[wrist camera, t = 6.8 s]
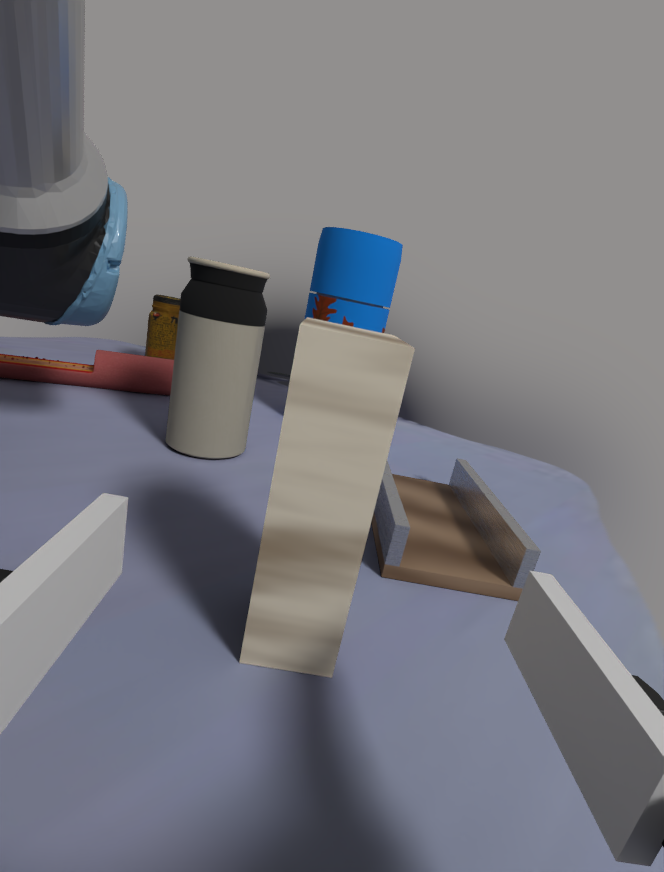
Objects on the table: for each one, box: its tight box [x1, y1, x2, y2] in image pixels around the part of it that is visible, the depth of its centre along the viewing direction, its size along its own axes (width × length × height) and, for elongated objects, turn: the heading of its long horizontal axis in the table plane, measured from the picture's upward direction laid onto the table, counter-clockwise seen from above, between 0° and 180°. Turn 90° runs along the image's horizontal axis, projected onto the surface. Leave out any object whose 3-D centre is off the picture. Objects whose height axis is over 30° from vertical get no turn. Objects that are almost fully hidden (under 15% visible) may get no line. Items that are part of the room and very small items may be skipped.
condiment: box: [145, 295, 181, 360], centre depth 75 cm, size 7×8×12 cm
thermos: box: [305, 227, 402, 333], centre depth 64 cm, size 11×11×25 cm
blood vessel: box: [0, 350, 174, 396], centre depth 58 cm, size 42×5×5 cm, turn 110°
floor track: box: [371, 459, 541, 601], centre depth 40 cm, size 18×10×4 cm, turn 0°
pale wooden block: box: [239, 317, 415, 678], centre depth 23 cm, size 6×4×16 cm
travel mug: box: [166, 257, 270, 459], centre depth 46 cm, size 8×8×18 cm
